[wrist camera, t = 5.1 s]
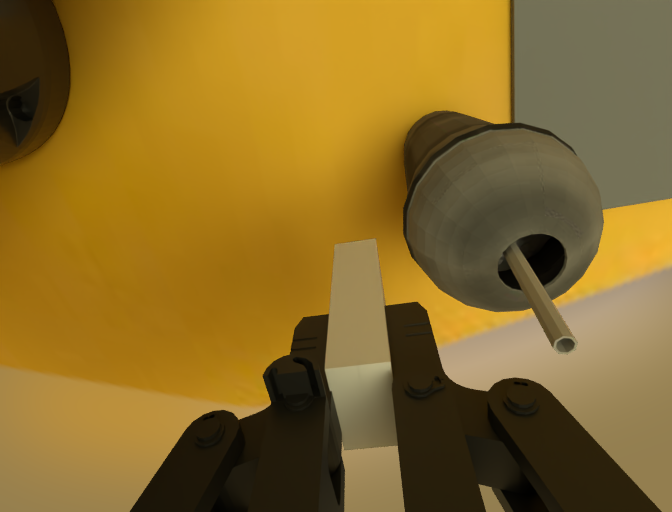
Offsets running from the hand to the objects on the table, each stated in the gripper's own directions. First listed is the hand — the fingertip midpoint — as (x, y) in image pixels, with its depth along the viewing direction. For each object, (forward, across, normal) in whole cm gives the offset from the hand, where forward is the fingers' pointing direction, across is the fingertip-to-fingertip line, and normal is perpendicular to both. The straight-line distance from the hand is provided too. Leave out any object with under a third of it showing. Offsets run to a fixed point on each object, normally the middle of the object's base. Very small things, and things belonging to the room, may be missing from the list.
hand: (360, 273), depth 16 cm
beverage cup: (+14, +5, +1) cm, 15 cm away
